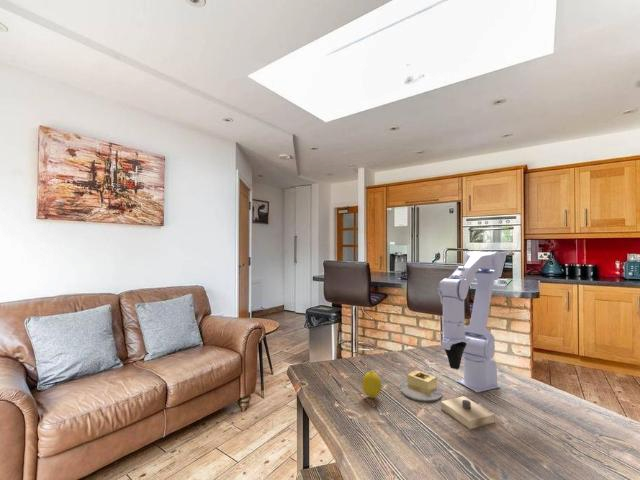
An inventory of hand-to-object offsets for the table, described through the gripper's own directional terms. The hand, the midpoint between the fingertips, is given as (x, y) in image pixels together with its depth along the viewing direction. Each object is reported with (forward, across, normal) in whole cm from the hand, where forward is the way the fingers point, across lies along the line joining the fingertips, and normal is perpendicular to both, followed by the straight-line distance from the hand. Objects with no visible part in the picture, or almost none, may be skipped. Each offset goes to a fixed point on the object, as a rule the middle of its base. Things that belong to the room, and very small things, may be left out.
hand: (454, 368), depth 87 cm
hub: (+10, 0, +10) cm, 14 cm away
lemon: (+10, -13, +20) cm, 26 cm away
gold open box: (+9, 0, +10) cm, 13 cm away
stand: (+10, -5, -4) cm, 12 cm away
